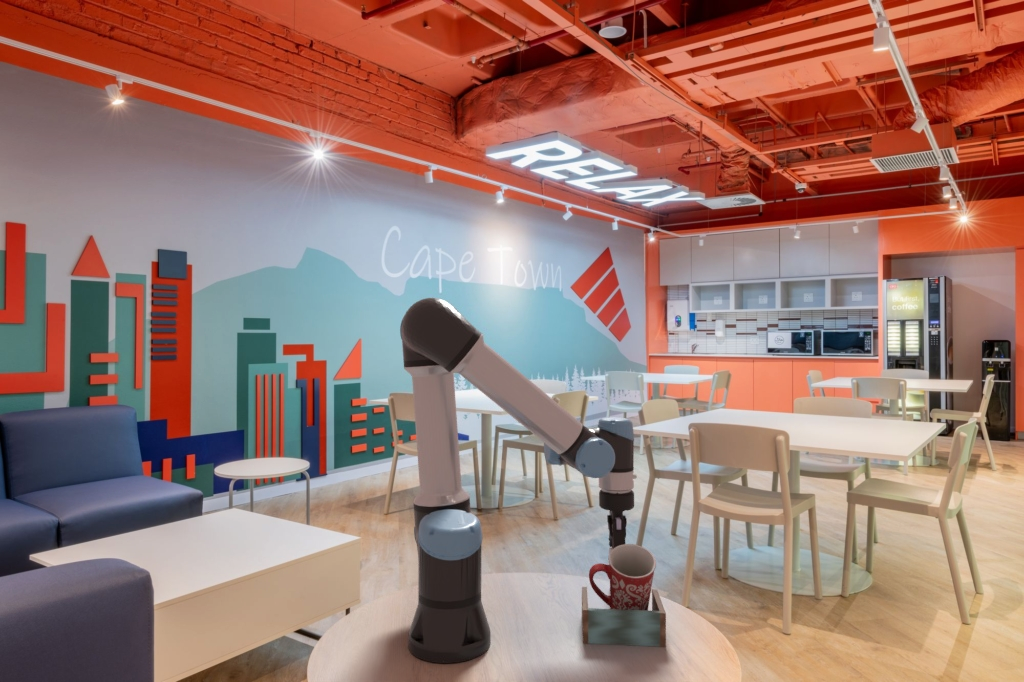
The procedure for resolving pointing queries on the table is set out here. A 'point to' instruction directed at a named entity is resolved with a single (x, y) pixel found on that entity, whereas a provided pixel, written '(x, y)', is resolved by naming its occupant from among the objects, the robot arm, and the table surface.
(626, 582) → the mug
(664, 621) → the dock
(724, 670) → the table surface
